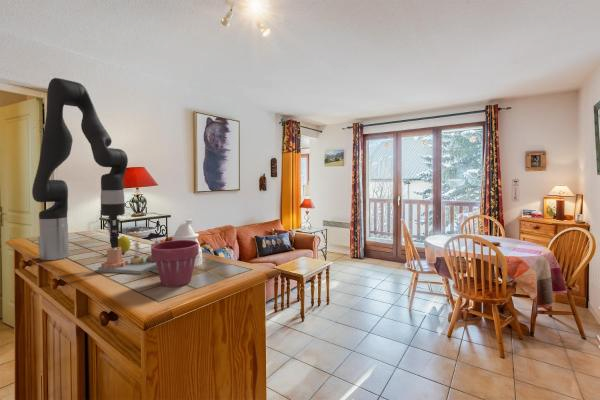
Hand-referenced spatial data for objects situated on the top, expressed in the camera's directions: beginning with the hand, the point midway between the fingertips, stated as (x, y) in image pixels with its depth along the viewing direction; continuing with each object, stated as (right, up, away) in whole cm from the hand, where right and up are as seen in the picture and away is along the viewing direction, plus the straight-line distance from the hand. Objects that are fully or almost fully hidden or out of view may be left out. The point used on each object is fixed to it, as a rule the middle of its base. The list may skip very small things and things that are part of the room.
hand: (113, 245), depth 112 cm
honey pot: (+24, -9, +7) cm, 27 cm away
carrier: (+6, -9, +5) cm, 12 cm away
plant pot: (+29, -10, -14) cm, 34 cm away
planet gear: (0, -8, 0) cm, 8 cm away
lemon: (-10, -8, +24) cm, 27 cm away
